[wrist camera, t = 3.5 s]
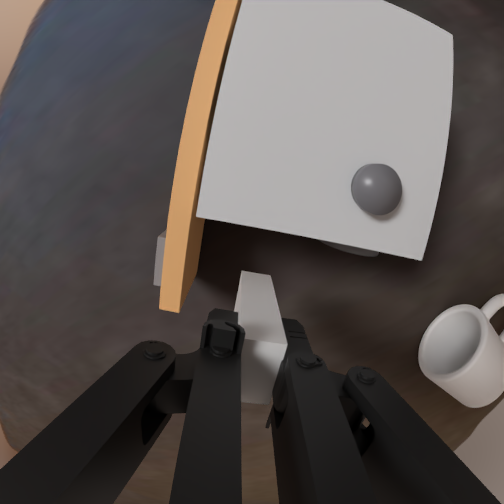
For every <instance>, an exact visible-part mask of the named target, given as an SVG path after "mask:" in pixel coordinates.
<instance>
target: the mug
mask: <svg viewBox="0 0 504 504" xmlns="http://www.w3.org/2000/svg"><path fill="white" fill-rule="evenodd" d="M503 306H504V294H498V295H496V296H494V297H492V298H491V299H490V300H489V301H487V302H486V303H485V304H484V306H483V307H482V308H481V309H478V308H477V307H475V306H473V305H469V304H461V305H456V306H453V307H451V308H449V309H447V310H445V311H444V312H442V313H441V314H440V315H438V316H437V317H436V318H435V319H434V320H433V321H432V323H431V324H430V325H429V327H428V328H427V330H426V331H425V333H424V335H423V337H422V340H421V342H420V346H419V351H418V361H419V366H420V368H421V370H422V372H423V374H424V375H425V376H426V377H427V378H429V379H430V380H431V381H433V382H434V383H435V384H437V385H438V386H439V387H441V388H442V389H443V390H445V391H446V392H447V393H449V394H450V395H451V396H453V397H454V398H455V399H457V400H458V401H459V402H461V403H462V404H463V405H465V406H467V407H471V408H478V407H483V406H486V405H488V404H490V403H492V402H493V401H494V400H496V399H497V398H498V397H499V396H500V395H501V394H502V393H503V391H504V330H503V331H502V333H501V334H500V336H498V334H497V333H496V331H495V330H494V328H493V327H492V325H491V324H490V322H489V320H490V318H491V317H492V316H493V315H494V314H495V313H496V312H497V311H498V310H499V309H500V308H501V307H503Z"/></svg>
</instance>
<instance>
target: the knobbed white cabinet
mask: <svg viewBox="0 0 504 504" xmlns="http://www.w3.org/2000/svg"><path fill="white" fill-rule="evenodd" d="M452 87H453V35H452V34H450V33H448V32H447V31H445V30H443V29H441V28H440V27H438V26H436V25H434V24H432V23H430V22H429V21H427V20H425V19H423V18H421V17H419V16H417V15H415V14H413V13H411V12H408V11H406V10H404V9H402V8H400V7H398V6H395V5H393V4H391V3H388V2H386V1H383V0H242V3H241V7H240V11H239V14H238V18H237V21H236V25H235V29H234V33H233V37H232V40H231V44H230V48H229V52H228V56H227V61H226V65H225V69H224V73H223V78H222V82H221V86H220V91H219V95H218V100H217V105H216V109H215V114H214V119H213V124H212V129H211V134H210V139H209V144H208V149H207V155H206V160H205V165H204V171H203V177H202V183H201V188H200V194H199V201H198V207H197V213H196V217H200V218H206V219H212V220H218V221H223V222H229V223H234V224H240V225H246V226H251V227H257V228H262V229H267V230H273V231H278V232H283V233H289V234H294V235H299V236H304V237H309V238H314V239H318V240H319V241H320V242H322V243H324V244H326V245H328V246H330V247H333V248H336V249H338V250H342V251H345V252H348V253H352V254H357V255H362V256H369V257H375V256H378V253H379V252H383V253H388V254H393V255H397V256H402V257H407V258H411V259H416V260H420V261H422V258H423V255H424V251H425V248H426V244H427V241H428V237H429V233H430V229H431V225H432V221H433V217H434V213H435V209H436V204H437V200H438V195H439V190H440V185H441V180H442V174H443V169H444V163H445V156H446V150H447V142H448V134H449V126H450V116H451V103H452Z"/></svg>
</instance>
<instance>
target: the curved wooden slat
mask: <svg viewBox="0 0 504 504" xmlns="http://www.w3.org/2000/svg"><path fill="white" fill-rule="evenodd" d="M241 3H242V0H216V1H215V4H214V7H213V10H212V14H211V17H210V20H209V24H208V27H207V31H206V34H205V38H204V41H203V45H202V49H201V52H200V56H199V60H198V64H197V68H196V72H195V76H194V80H193V84H192V89H191V93H190V97H189V102H188V106H187V111H186V116H185V121H184V126H183V131H182V136H181V141H180V146H179V152H178V158H177V163H176V169H175V175H174V182H173V188H172V195H171V201H170V209H169V216H168V224H167V230H166V231H164V232H163V233H162V234H161V235H159V236H158V242H157V252H156V262H155V274H154V285H158V286H161V291H160V305H159V309H162V310H167V311H172V312H177V313H179V312H180V309H181V307H182V305H183V303H184V300H185V298H186V296H187V294H188V291H189V289H190V287H191V285H192V283H193V280H194V278H195V276H196V274H197V269H198V262H199V255H200V248H201V241H202V235H203V228H204V222H205V218H200V217H196V213H197V207H198V201H199V194H200V188H201V183H202V177H203V171H204V165H205V160H206V155H207V149H208V144H209V139H210V134H211V129H212V124H213V119H214V114H215V109H216V105H217V100H218V95H219V91H220V86H221V82H222V78H223V73H224V69H225V65H226V61H227V56H228V52H229V48H230V44H231V40H232V37H233V33H234V29H235V25H236V21H237V18H238V14H239V11H240V7H241Z"/></svg>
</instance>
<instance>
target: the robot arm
mask: <svg viewBox="0 0 504 504" xmlns="http://www.w3.org/2000/svg"><path fill="white" fill-rule="evenodd" d="M272 395H273V406H272V409H271V412H270V415H269V417H268V420H267V423H266V428H269V426H270V423H271V427H272V437H273V447H274V456H275V466H276V476H277V485H278V495H279V504H501V503H500V502H499V501H498V500H497V499H496V497H495V496H494V495H493V494H492V493H491V492H490V491H489V490H488V489H487V488H486V487H485V486H484V484H482V482H481V481H480V480H479V479H478V478H477V477H476V476H475V475H474V474H473V473H472V472H471V471H470V469H469V468H468V467H467V466H466V465H465V464H464V463H463V462H462V461H461V460H460V459H459V458H458V457H457V456H456V454H455V453H454V452H453V451H452V450H451V449H450V448H449V447H448V446H447V445H446V444H445V443H444V442H443V441H442V439H441V438H440V437H439V436H438V435H437V434H436V433H435V432H434V431H433V430H432V429H431V428H430V427H429V426H428V425H427V424H426V422H425V421H424V420H423V419H422V418H421V417H420V416H419V415H418V414H417V413H416V412H415V411H414V410H413V409H412V408H411V407H410V406H409V404H408V403H407V402H406V401H405V400H404V399H403V398H402V397H401V396H400V395H399V394H398V393H397V392H396V391H395V390H394V389H393V388H392V387H391V386H390V384H389V383H388V382H387V381H386V380H385V379H384V378H383V377H382V376H381V375H380V374H379V373H377V372H376V371H374V370H372V369H371V368H368V367H363V366H356V367H352V368H351V369H350V370H349V371H348V373H347V375H342V374H338V373H335V372H332V371H329V370H328V369H327V366H326V364H325V362H324V361H323V359H321V358H320V357H319V356H317V355H315V354H313V352H312V350H311V347H310V344H309V341H308V339H307V336H306V334H305V330H304V328H303V326H302V325H301V324H300V323H299V322H298V321H297V320H293V319H286V318H281V316H280V312H279V308H278V304H277V300H276V296H275V292H274V288H273V284H272V280H271V276H270V275H265V274H259V273H253V272H247V271H242V272H241V277H240V282H239V288H238V293H237V298H236V304H235V309H234V311H228V310H222V309H216V308H215V309H214V310H212V311H211V312H210V313H209V316H208V320H207V322H205V324H204V325H203V329H202V336H201V344H200V348H199V349H198V350H197V351H195V352H193V353H189V354H176V353H175V350H174V349H173V348H172V347H171V346H170V345H168V344H166V343H164V342H160V341H144V342H141V343H139V344H137V345H136V346H135V347H134V348H132V349H131V350H130V351H129V352H128V353H127V354H126V355H125V356H124V357H122V358H121V359H120V360H119V361H118V362H117V363H116V364H115V365H114V366H113V367H111V368H110V369H109V370H108V371H107V372H106V373H105V374H104V375H103V376H101V377H100V378H99V379H98V380H97V381H96V382H95V383H94V384H93V385H92V386H90V387H89V388H88V389H87V390H86V391H85V392H84V393H83V394H82V395H81V396H79V397H78V398H77V399H76V400H75V401H74V402H73V403H72V404H71V405H70V406H69V407H67V408H66V409H65V410H64V411H63V412H62V413H61V414H60V415H59V416H58V417H57V418H55V419H54V420H53V421H52V422H51V423H50V424H49V425H48V426H47V427H46V428H45V429H43V430H42V431H41V432H40V433H39V434H38V435H37V436H36V437H35V438H34V439H33V440H32V441H30V442H29V443H28V444H27V445H26V446H25V447H24V448H23V449H22V450H21V451H20V452H19V453H18V454H16V455H15V456H14V457H13V458H12V459H11V460H10V461H9V462H8V463H7V464H6V465H5V466H4V467H3V468H1V469H0V504H113V503H114V501H115V500H116V498H117V497H118V496H119V494H120V493H121V491H122V490H123V488H124V487H125V485H126V484H127V482H128V481H129V480H130V478H131V477H132V475H133V474H134V472H135V471H136V469H137V468H138V466H139V465H140V463H141V462H142V460H143V459H144V457H145V456H146V454H147V453H148V451H149V450H150V448H151V447H152V446H153V444H154V443H155V441H156V440H157V438H158V437H159V435H160V433H161V432H162V430H163V429H164V427H165V426H166V424H167V423H168V421H169V420H170V418H171V416H172V413H186V416H185V421H184V426H183V431H182V436H181V441H180V447H179V452H178V457H177V462H176V468H175V473H174V479H173V484H172V490H171V496H170V501H169V504H242V480H241V402H247V403H256V404H266V405H269V403H270V400H271V397H272ZM365 417H366V418H367V419H368V421H369V422H370V424H369V426H368V427H367V428H366V427H365V426H364V425H363V424H362V422H363V421H364V419H365Z"/></svg>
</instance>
